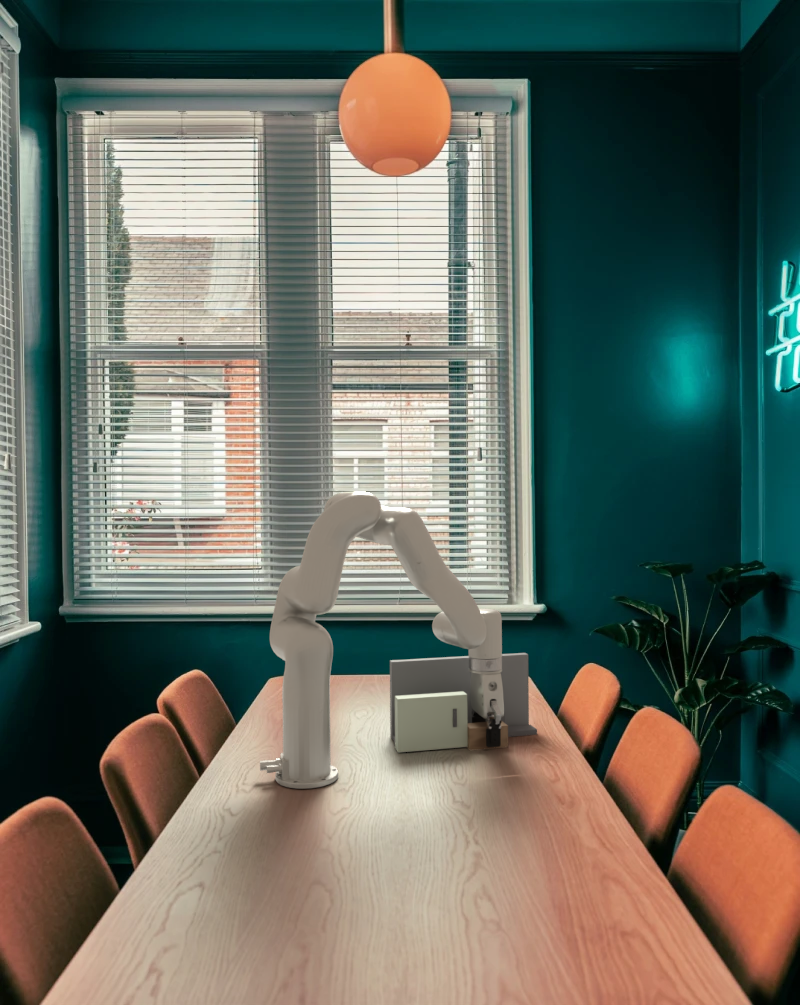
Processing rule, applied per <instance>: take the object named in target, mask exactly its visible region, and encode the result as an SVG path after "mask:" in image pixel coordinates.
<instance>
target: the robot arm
mask: <svg viewBox="0 0 800 1005" xmlns="http://www.w3.org/2000/svg"><path fill="white" fill-rule="evenodd" d="M355 538H358V539H362V540H366V541H369V542H373V543H375V544H380V545H384V546H390V547H391V548H392V550H393V553H394V554H395V556H396V557H397V559H398V561H399V563H400V565H401V566H402V568H403V571H404V572H405V574H406V576H407V578H408V581H409V582H410V583H411V585H412V586H413V587H414V588H416V590H418V591H419V592H420V593H422V594H423V595H424V596H426V597H427V598H428V599H429V600H431V601H432V602H433V603H434V604H436V605H437V607H439V609H440V610H441V612H439V613H437V614H436V615H435V617H434V618H433V621H432V624H431V628H432V632H433V634H434V636H435V637H436V638H437V639H438V640H440V642H443V643H445V644H448V645H452V646H455V647H459V648H462V649H465V650H468V656H469V671H470V672H471V707H472V716H474V717H472V723H478V722H486V723H487V727H488V729H486V746H487V747H499V746H500V745H501V717H503V716H504V701H503V686H502V678H501V673H500V672H502V654H503V653H502V652H503V645H502V644H503V637H502V636H503V633H502V632H503V629H502V623H503V619H502V614H501V611H498V610H497V609H495V608H494V609H492V608H479V606H478V604H477V602H476V601H475V598H474V597H473V596H472V594H471V592H469V590H468V589H467V588H466V587H465V586H464V585H463V583H462V582H461V580H459V579H458V577H457V576H456V575H455V574H454V573H453V572H452V571H451V569H449V568H448V566H447V565H446V563H445V561H444V559H443V557H442V555H441V554H440V552H439V550H438V549H437V546H436V544H435V542H434V540H433V538H432V536H431V534H430V532H429V530H428V528H427V526H426V524H425V523H424V521H423V519H422V517H421V515H420V514H419V513H418V512H417V511H415V510H414V509H411V508H408V507H390V506H385V505H382V504H381V502H380V500H379V498H378V497H377V496H376V495H374V494H373V493H370V492H366V491H363V490H362V491H361V490H359V491H357V490H355V491H344V492H343V491H341V492H338V493H336V494H334V495H332V496H331V497H329V498H328V499H327V501H326V503H325V505H324V508H323V512H321V514H320V515H319V516H318V517H317V518H316V520H315V521H314V522H313V524H312V526H311V528H310V530H309V532H308V536H307V537H306V542H305V545H304V549H303V553H302V556H301V560H300V565H296V566H295V567H292V568H291V569H289V570H288V571H287V572H286V573H285V574H284V576H283V577H282V579H281V581H280V584H279V586H278V590H277V594H276V599H275V603H274V608H273V613H272V618H271V624H270V628H269V629H270V630H269V644H270V647H271V650H272V651H273V653H274V654H275V655H276V656H277V657H278V658H280V659H282V661H284V663H285V664H284V671H283V677H282V678H283V679H282V688H281V689H282V691H281V697H282V699H281V700H282V701H281V702H282V752H281V753H280V757H276V758H275V759H273V760H272V759H271V760H269V759H267V760H265V759H264V760H262V759H261V760H259V771H266V774H273V773H275V775H274V777H275V779H274V780H275V781H276V783H277V784H279V786H282V787H285V788H290V789H297V790H298V789H299V790H301V789H302V790H304V789H305V790H306V789H315V788H316V789H317V788H321V787H326V786H328V785H330V784H333V783H334V782H336V780H338V779H339V770H338V768H337V767H336V766H334V765H332V764H331V758H332V757H331V671H332V663H333V657H334V645H333V640H332V638H331V635H330V633H329V632H328V631H327V629H326V628H325V627H323V625H322V624H320V623H318V622H316V619H317V618H316V617H317V615H318V616H319V615H324V614H327V613H329V612H330V611H331V610H332V609H333V608H334V606H335V604H337V598H338V597H339V596H338V595H339V590H340V585H341V584H340V583H341V580H342V573H343V570H344V569H343V568H344V564H345V559H346V556H347V553H348V550H349V547H350V545H351V544H352V542H353V541H354V539H355ZM488 714H491V715H488ZM490 719H492V721H491V722H490Z"/></svg>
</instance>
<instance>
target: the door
mask: <svg viewBox="0 0 800 1005" xmlns="http://www.w3.org/2000/svg"><path fill="white" fill-rule="evenodd" d="M467 747H468V725H467V694H466V693H465V692H463V691H461V692H446V693H431V694H416V695H401V696H395V742H394V749H395V750H396V751H397V753H406V752H407V753H410V752H420V751H430V750H433V751H434V750H445V749H454V748H455V749H456V748H467Z"/></svg>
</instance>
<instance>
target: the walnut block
mask: <svg viewBox="0 0 800 1005" xmlns="http://www.w3.org/2000/svg"><path fill="white" fill-rule="evenodd" d="M467 725H468V747H466V748H467V749H468V750H469V751H478V750H489V749H490V750H492V749H501V748H509V737H508V725H507V724H505V723H504V722H503V721H501V745H500V746H499V747H487V746H486V729H488V727H487V723H486V722H478V723H467Z"/></svg>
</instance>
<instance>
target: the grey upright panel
mask: <svg viewBox="0 0 800 1005" xmlns="http://www.w3.org/2000/svg"><path fill="white" fill-rule="evenodd" d="M500 673H501V678H502V686H503V701H504V716H503V717H501V721H503V722H504V723H505V724H507V725H508V738H510V737H521V736H522V737H524V736H535V735H536V736H537V735H538V728H536V727H534V726H533V725H531V724H530V719H529V718H530V711H529V710H530V708H529V707H530V705H529V704H530V702H529V701H530V700H529V698H530V697H529V654H528V653H526V652H518V653H502V672H500ZM461 691H463V692H465V693H466V694H467V723H472V717H474V716H472V707H471V672H470V671H469V655H464V656H463V655H462V656H446V657H445V656H444V657H443V656H442V657H427V658H426V657H425V658H410V659H392V660H391V659H390V660H389V702H390V703H389V710H390V711H389V712H390V714H389V718H390V720H389V721H390V724H389V726H390V729H389V730H390V738H391V739H392V741H393V743H395V696H401V695H416V694H431V693H446V692H461ZM488 715H491V714H488ZM491 721H492V719H490V722H491Z"/></svg>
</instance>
